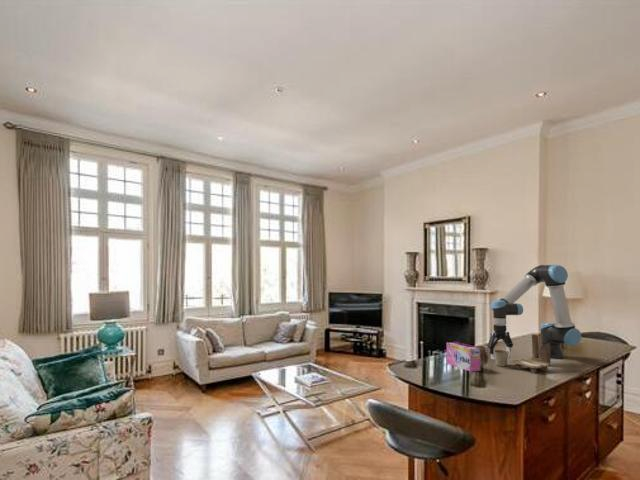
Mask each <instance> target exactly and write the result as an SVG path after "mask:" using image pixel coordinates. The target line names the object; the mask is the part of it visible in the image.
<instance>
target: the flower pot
mask: <svg viewBox="0 0 640 480" xmlns="http://www.w3.org/2000/svg"><path fill="white" fill-rule="evenodd" d="M508 353H509V352H508V351H506V349H505V350H504V349H495V365H496V366H499V367H507V366H508V359H509V358H508Z"/></svg>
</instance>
